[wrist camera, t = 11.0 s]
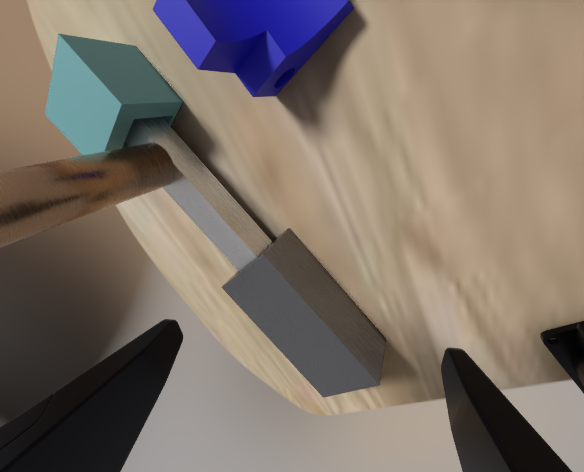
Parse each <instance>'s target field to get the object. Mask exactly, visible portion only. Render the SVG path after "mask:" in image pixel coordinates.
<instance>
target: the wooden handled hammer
mask: <svg viewBox="0 0 584 472" xmlns="http://www.w3.org/2000/svg"><path fill="white" fill-rule="evenodd" d="M123 145H124V146H125V148H120V149H114V150H109V151H104V152H99V153H93V154H88V155H83V156H78V157H72V158H67V159H62V160H56V161H52V162H46V163H41V164H35V165H30V166H25V167H20V168H15V169H9V170H4V171H0V247H2V246H5V245H8V244H10V243H13V242H16V241H18V240H21V239H24V238H27V237H29V236H32V235H35V234H37V233H40V232H43V231H46V230H48V229H51V228H54V227H56V226H59V225H62V224H64V223H67V222H70V221H72V220H75V219H78V218H81V217H83V216H86V215H89V214H91V213H94V212H97V211H100V210H102V209H105V208H108V207H110V206H113V205H116V204H118V203H121V202H124V201H127V200H129V199H132V198H135V197H137V196H140V195H143V194H145V193H148V192H151V191H154V190H156V189H159V188H162V187H163V188H164V190H165V191H166V192H167V193H168V194H169V195H170V196H171V197H172V198H173V199H174V201H175V202H176V203H177V204H178V205H179V206H180V207H181V208H182V209H183V210H184V212H185V213H186V214H187V215H188V216H189V217H190V218H191V219H192V220H193V221H194V223H195V224H196V225H197V226H198V227H199V228H200V229H201V230H202V231H203V232H204V234H205V235H206V236H207V237H208V238H209V239H210V240H211V241H212V242H213V243H214V245H215V246H216V247H217V248H218V249H219V250H220V251H221V252H222V253H223V254H224V256H225V257H226V258H227V259H228V260H229V261H230V262H231V263H232V264H233V265H234V267H235V268H236V269H237V270H238V271H239V272H241V271H242V270H243V269H245V268H246V267H247V266H248V265H250V264H251V263H252V262H254V261H255V260H256V259H257V258H259V257H260V255H261V254H262V253H263V252H264V251H265V250H266V249H267V248H268V247H269V246H270V245H271V244H272V243H273V242H272V241H271V240H270V239H269V237H268V236H267V235H266V234H265V233H264V232H263V231H262V230H261V228H260V227H259V226H258V225H257V224H256V223H255V222H254V221H253V219H252V218H251V217H250V216H249V215H248V214H247V213H246V211H245V210H244V209H243V208H242V207H241V206H240V205H239V204H238V202H237V201H236V200H235V199H234V198H233V197H232V196H231V194H230V193H229V192H228V191H227V190H226V189H225V188H224V187H223V185H222V184H221V183H220V182H219V181H218V180H217V179H216V178H215V176H214V175H213V174H212V173H211V172H210V171H209V170H208V168H207V167H206V166H205V165H204V164H203V163H202V162H201V161H200V159H199V158H198V157H197V156H196V155H195V154H194V153H193V151H192V150H191V149H190V148H189V147H188V146H187V145H186V144H185V142H184V141H183V140H182V139H181V138H180V137H179V136H178V135H177V133H176V132H175V131H174V130H173V129H172V128H171V127H170V125H169V124H168V123H167V122H166V121H165V120H164V119H163V118H162V117H153V118H142V119H134V121H133V123H132V125H131V128H130V130H129V132H128V135H127V137H126V140H125V142H124V144H123Z"/></svg>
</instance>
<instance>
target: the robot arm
mask: <svg viewBox="0 0 584 472" xmlns="http://www.w3.org/2000/svg"><path fill="white" fill-rule="evenodd" d="M540 337H541V339H542V341H543V343H544V344H545V346H546V347H547V348H548V349H549V351H550V352H551V353H552V354H553V356H554V357H555V358H556V359H557V361H558V362H559V363H560V364H561V366H562V367H563V368H564V369H565V371H566V372H567V373H568V374H569V376H570V377H571V378H572V379H573V381H574V382H575V383H576V384H577V385H578V387H579V388H580V389H581V390H582V392H583V393H584V321H582V322H578V323H574V324H570V325H566V326H562V327H558V328H554V329H550V330H546V331H544V332H542V333H541V336H540ZM550 338H555V339H552V340H550ZM182 341H183V334H182V331H181V329H180V327H179V325H178V322H177V321H176V320H171V319H165V320H163V321H161V322H160V323H158V324H157V325H155V326H154V327H152V328H151V329H149V330H148V331H146V332H145V333H143V334H142V335H140V336H139V337H137V338H135V339H134V340H133V341H131V342H130V343H128V344H127V345H125V346H124V347H122V348H121V349H119V350H117V351H116V352H114V353H113V354H111V355H110V356H108V357H107V358H105V359H104V360H102V361H101V362H99V363H98V364H96V365H95V366H93V367H92V368H90V369H89V370H87V371H86V372H84V373H83V374H81V375H80V376H78V377H77V378H75V379H74V380H72V381H71V382H69V383H68V384H66V385H65V386H63V387H62V388H60V389H59V390H57V391H56V392H55V393H54V394H51V395H50V396H48V397H47V398H45V399H44V400H42V401H41V402H39V403H38V404H36V405H35V406H33V407H32V408H30V409H28V410H27V411H25V412H24V413H22V414H21V415H19V416H18V417H16V418H14V419H13V420H11V421H9V422H8V423H6V424H4V425H3V426H1V427H0V472H120V471H121V469H122V467H123V465H124V463H125V461H126V460H127V458H128V455H129V454H130V452H131V450H132V448H133V446H134V444H135V442H136V440H137V438H138V436H139V434H140V432H141V430H142V428H143V426H144V424H145V422H146V420H147V418H148V416H149V415H150V412H151V410H152V409H153V407H154V405H155V403H156V401H157V399H158V397H159V395H160V393H161V391H162V389H163V387H164V385H165V383H166V381H167V378H168V376H169V374H170V371H171V369H172V366H173V364H174V361H175V359H176V356H177V353H178V351H179V349H180V346H181V343H182ZM441 372H442V379H443V385H444V390H445V396H446V402H447V408H448V414H449V420H450V425H451V430H452V434H453V438H454V442H455V445H456V449H457V453H458V456H459V460H460V463H461V467H462V471H463V472H572V471H571V470H570V469H569V468H568V466H567V465H566V464H565V463H564V462H563V461H562V460H561V459H560V457H559V456H558V455H557V454H556V453H555V452H554V451H553V450H552V449H551V447H550V446H549V445H548V444H547V443H546V442H545V441H544V439H543V438H542V437H541V436H540V435H539V434H538V433H537V432H536V431H535V429H534V428H533V427H532V426H531V425H530V424H529V423H528V422H527V421H526V419H525V418H524V417H523V416H522V415H521V414H520V413H519V412H518V410H517V409H516V408H515V407H514V406H513V405H512V404H511V403H510V401H509V400H508V399H507V398H506V397H505V396H504V395H503V394H502V392H501V391H500V390H499V389H498V388H497V387H496V386H495V385H494V384H493V382H492V381H491V380H490V379H489V378H488V377H487V376H486V375H485V373H484V372H483V371H482V370H481V369H480V368H479V367H478V366H477V364H476V363H475V362H474V361H473V360H472V359H471V358H470V357H469V356H468V354H467V353H466V352H465V351H464V350H462V349H458V348H447V349H446V350H445V354H444V357H443V361H442V365H441Z"/></svg>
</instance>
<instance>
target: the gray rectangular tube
mask: <svg viewBox="0 0 584 472" xmlns="http://www.w3.org/2000/svg"><path fill="white" fill-rule="evenodd" d="M272 242H273V243H272V244H271V245H270V246H269V247H268V248H267V249H266V250H265V251H264V252H263V253H262V254H261V255H260V257H259V258H257V259H256V260H255V261H254V262H252V263H251V264H250V265H248V266H247V267H246V268H245V269H243V270H242V271H241V272H239V271H238V272H237V273H236V274H235V275H234V276H233V277H232V278H231V279H230V280H229V281H228V282H227V283H226V284H224V285H223V286H222V288H223V289H224V290H225V292H226V293H227V294H228V295H229V296H230V297H231V298H232V299H233V300H234V301H235V302H236V303H237V305H238V306H239V307H240V308H241V309H242V310H243V311H244V312H245V313H246V314H247V315H248V316H249V317H250V319H251V320H252V321H253V322H254V323H255V324H256V325H257V326H258V327H259V328H260V329H261V330H262V332H263V333H264V334H265V335H266V336H267V337H268V338H269V339H270V340H271V341H272V342H273V343H274V345H275V346H276V347H277V348H278V349H279V350H280V351H281V352H282V353H283V354H284V355H285V356H286V358H287V359H288V360H289V361H290V362H291V363H292V364H293V365H294V366H295V367H296V368H297V369H298V371H299V372H300V373H301V374H302V375H303V376H304V377H305V378H306V379H307V380H308V381H309V382H310V384H311V385H312V386H313V387H314V388H315V389H316V390H317V391H318V392H319V393H320V394H321V395H322V397H328V396H332V395H337V394H341V393H346V392H350V391H355V390H360V389H364V388H369V387H373V386H378V385H380V379H381V372H382V365H383V358H384V351H385V344H386V339H385V338H384V336H383V335H382V334H381V333H380V332H379V331H378V330H377V328H376V327H375V326H374V325H373V324H372V323H371V322H370V320H369V319H368V318H367V317H366V316H365V315H364V313H363V312H362V311H361V310H360V309H359V308H358V307H357V305H356V304H355V303H354V302H353V301H352V300H351V299H350V297H349V296H348V295H347V294H346V293H345V292H344V291H343V289H342V288H341V287H340V286H339V285H338V284H337V282H336V281H335V280H334V279H333V278H332V277H331V276H330V274H329V273H328V272H327V271H326V270H325V269H324V268H323V266H322V265H321V264H320V263H319V262H318V261H317V260H316V258H315V257H314V256H313V255H312V254H311V253H310V252H309V250H308V249H307V248H306V247H305V246H304V245H303V243H302V242H301V241H300V240H299V239H298V238H297V237H296V235H295V234H294V233H293V232H292V231H291V230H290V229H287V230H286V231H285V232H284V233H282V234H281V235H280V236H279V237H277V238H276V239H275V240H274V241H272Z"/></svg>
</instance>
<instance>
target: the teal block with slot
mask: <svg viewBox="0 0 584 472" xmlns="http://www.w3.org/2000/svg"><path fill="white" fill-rule="evenodd" d="M182 103H183V101H182V99H181V98H180V97H179V96H178V95H177V94H176V93H175V91H174V90H173V89H172V88H171V87H170V86H169V85H168V83H167V82H166V81H165V80H164V79H163V78H162V76H161V75H160V74H159V73H158V72H157V71H156V70H155V68H154V67H153V66H152V65H151V64H150V63H149V62H148V60H147V59H146V58H145V57H144V56H143V55H142V53H141V52H140V51H139V50H138V49H137V48H136V47H135V46H132V45H126V44H120V43H114V42H107V41H101V40H95V39H88V38H82V37H76V36H70V35H63V34H58V39H57V45H56V51H55V57H54V63H53V69H52V75H51V81H50V88H49V94H48V100H47V106H46V112H45V115H46V116H47V117H48V118H49V119H50V120H51V122H52V123H53V124H54V125H55V126H56V127H57V128H58V129H59V130H60V131H61V132H62V133H63V134H64V135H65V137H66V138H67V139H68V140H69V141H70V142H71V143H72V144H73V145H74V146H75V147H76V148H77V149H78V150H79V152H80V153H81V154H82V155H88V154H93V153H99V152H104V151H109V150H114V149H120V148H125V146H124V145H123V144H124V142H125V140H126V137H127V135H128V132H129V130H130V128H131V125H132V123H133V121H134V119H142V118H153V117H162V118H163V119H164V120H165V121H166V122H167V123H168V124H169V125H170V126H171V124H172V122H173V120H174V118H175V117H176V115H177V113H178V111H179V109H180V107H181V105H182Z"/></svg>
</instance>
